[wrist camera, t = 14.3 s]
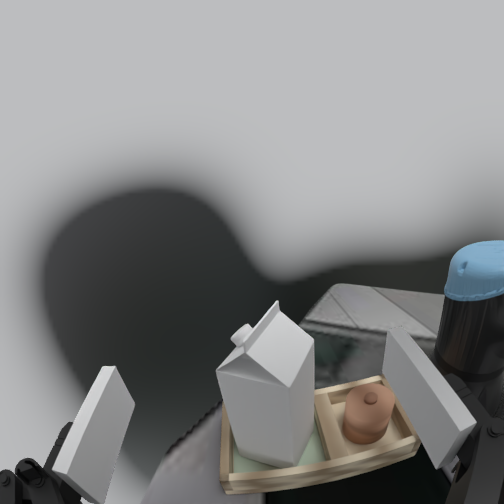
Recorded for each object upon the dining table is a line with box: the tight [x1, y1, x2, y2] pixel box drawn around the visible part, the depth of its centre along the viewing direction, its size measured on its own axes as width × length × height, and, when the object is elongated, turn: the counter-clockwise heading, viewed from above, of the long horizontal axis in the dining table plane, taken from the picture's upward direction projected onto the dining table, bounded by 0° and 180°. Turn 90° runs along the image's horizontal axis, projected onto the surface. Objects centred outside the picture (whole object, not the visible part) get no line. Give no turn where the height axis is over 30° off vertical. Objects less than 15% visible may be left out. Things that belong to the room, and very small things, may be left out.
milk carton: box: [216, 301, 314, 469], centre depth 28 cm, size 7×7×19 cm
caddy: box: [220, 374, 421, 495], centre depth 30 cm, size 23×13×7 cm, turn 93°
